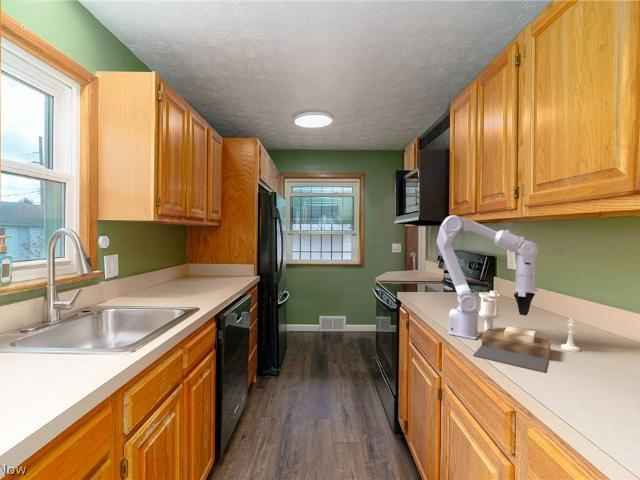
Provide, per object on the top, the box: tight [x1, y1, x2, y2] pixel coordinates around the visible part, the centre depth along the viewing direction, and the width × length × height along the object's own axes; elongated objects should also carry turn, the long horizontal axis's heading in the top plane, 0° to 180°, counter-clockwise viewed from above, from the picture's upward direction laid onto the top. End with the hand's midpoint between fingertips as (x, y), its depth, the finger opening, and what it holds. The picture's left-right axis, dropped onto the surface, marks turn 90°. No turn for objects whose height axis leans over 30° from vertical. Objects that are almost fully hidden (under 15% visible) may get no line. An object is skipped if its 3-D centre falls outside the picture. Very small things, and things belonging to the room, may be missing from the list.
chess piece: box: [560, 318, 580, 353], centre depth 106 cm, size 5×5×10 cm
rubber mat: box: [472, 344, 549, 374], centre depth 98 cm, size 18×10×1 cm, turn 52°
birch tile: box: [503, 325, 536, 343], centre depth 106 cm, size 8×6×2 cm
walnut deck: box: [481, 328, 551, 360], centre depth 106 cm, size 18×10×4 cm, turn 52°
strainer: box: [478, 290, 501, 332], centre depth 125 cm, size 7×7×15 cm
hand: (523, 314), depth 113 cm, fingers open, 2 cm apart
